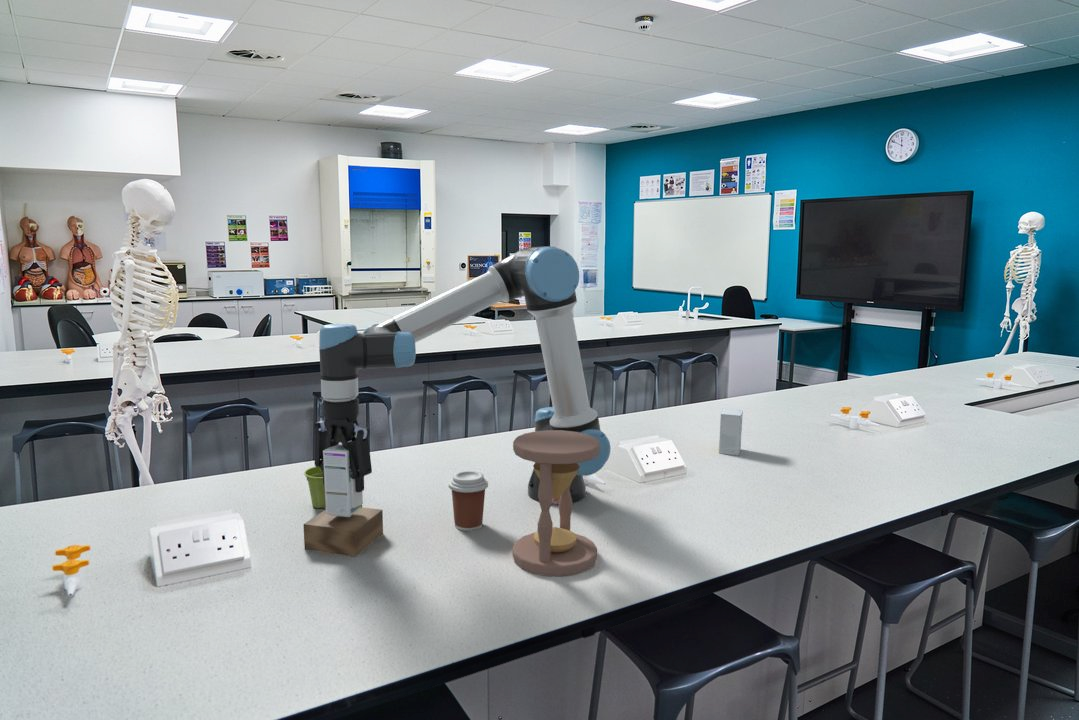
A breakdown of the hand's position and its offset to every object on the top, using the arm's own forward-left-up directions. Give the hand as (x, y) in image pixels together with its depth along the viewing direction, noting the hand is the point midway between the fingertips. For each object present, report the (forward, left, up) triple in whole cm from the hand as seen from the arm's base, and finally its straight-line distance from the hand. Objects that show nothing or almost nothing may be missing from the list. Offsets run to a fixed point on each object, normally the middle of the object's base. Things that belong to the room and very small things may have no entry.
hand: (344, 502), depth 149 cm
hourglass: (-43, -16, -9) cm, 47 cm away
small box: (-56, -113, -9) cm, 126 cm away
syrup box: (0, 0, -2) cm, 2 cm away
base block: (0, 0, -9) cm, 9 cm away
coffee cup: (-18, -21, -9) cm, 29 cm away
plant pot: (+20, -14, -9) cm, 26 cm away
